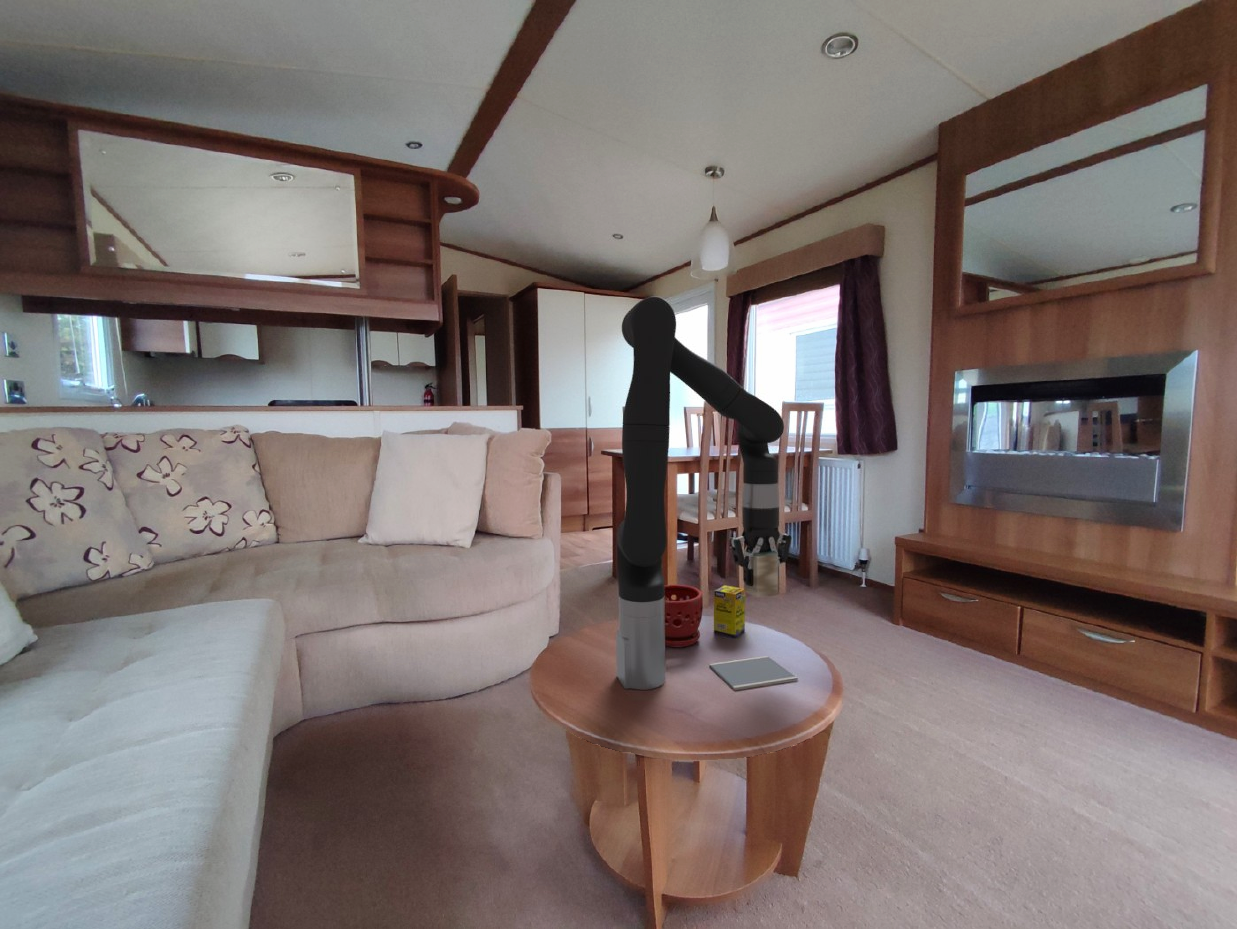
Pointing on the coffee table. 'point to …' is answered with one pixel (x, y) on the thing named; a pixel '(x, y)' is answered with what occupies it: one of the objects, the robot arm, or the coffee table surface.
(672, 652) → the coffee table surface
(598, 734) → the coffee table surface
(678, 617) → the plant pot
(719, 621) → the supplement box
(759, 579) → the birch block
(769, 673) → the felt mat
